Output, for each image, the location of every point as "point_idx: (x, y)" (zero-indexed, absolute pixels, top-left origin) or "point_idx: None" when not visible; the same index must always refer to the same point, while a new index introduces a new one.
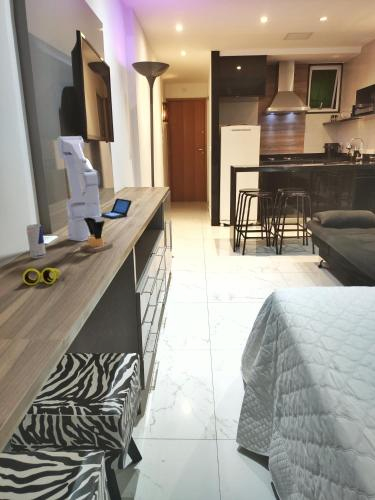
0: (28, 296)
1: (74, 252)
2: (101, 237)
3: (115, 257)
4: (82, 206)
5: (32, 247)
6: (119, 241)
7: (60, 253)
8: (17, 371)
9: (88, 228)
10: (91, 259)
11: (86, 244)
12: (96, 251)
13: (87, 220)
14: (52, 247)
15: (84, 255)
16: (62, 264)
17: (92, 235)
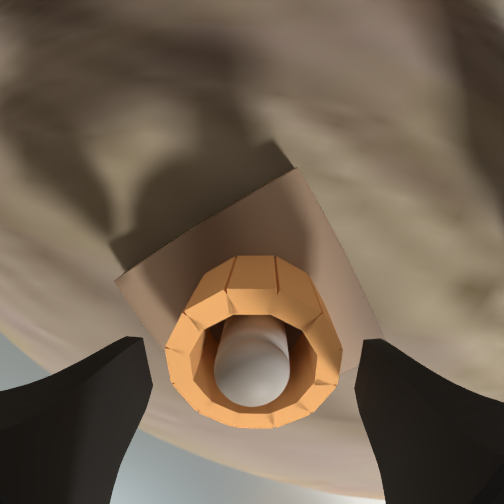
0: None
1: (233, 101)
2: (191, 401)
3: (13, 328)
4: None
5: None
6: (339, 453)
7: (270, 4)
8: None
9: (426, 371)
10: (11, 200)
11: (325, 240)
12: (125, 272)
13: (465, 478)
14: (469, 22)
15: (100, 167)
16: (20, 37)
17: (324, 350)
